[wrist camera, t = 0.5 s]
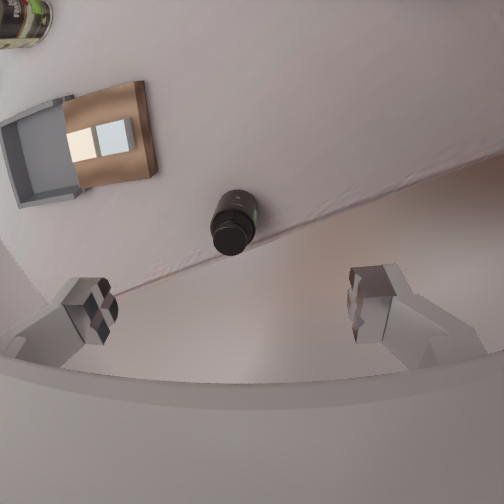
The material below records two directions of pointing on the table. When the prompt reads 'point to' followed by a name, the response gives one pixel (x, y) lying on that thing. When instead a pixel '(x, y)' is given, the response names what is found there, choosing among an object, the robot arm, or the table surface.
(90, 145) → the cream tile
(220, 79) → the table surface
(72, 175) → the box
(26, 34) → the coffee can
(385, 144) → the table surface
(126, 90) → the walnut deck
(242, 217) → the supplement bottle
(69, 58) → the table surface
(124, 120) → the pale blue brick
